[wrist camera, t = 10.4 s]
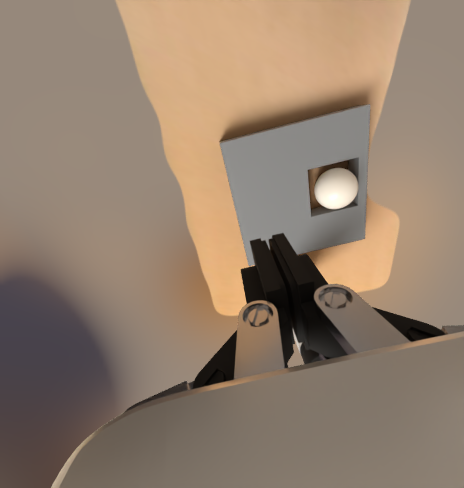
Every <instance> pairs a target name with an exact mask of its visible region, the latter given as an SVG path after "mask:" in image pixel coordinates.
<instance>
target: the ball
mask: <svg viewBox="0 0 464 488" xmlns="http://www.w3.org/2000/svg"><path fill="white" fill-rule="evenodd" d="M357 192H358V181H357V179H356V177H355V175H354V174H353V173H352V172H350V171H349V170H347V169H344V168H333V169H329V170H327V171H325V172H324V173H323V174H322V175H321V176H320V177H319V178H318V179H317V181H316V184H315V188H314V193H315V197H316V199H317V201H318V202H319V203H320V204H321V205H322V206H324V207H326V208H329V209H340V208H343V207H345V206H347V205H348V204H350V203H351V202H352V201H353V200H354V198H355V197H356V195H357Z"/></svg>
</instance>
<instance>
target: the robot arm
mask: <svg viewBox="0 0 464 488" xmlns="http://www.w3.org/2000/svg"><path fill="white" fill-rule="evenodd" d="M250 245H251V250H252V254H253V259H254V263H255V266H252V267H248V268H244V269H241V274H242V280H243V285H244V291H245V296H246V302H247V304H246V305H245V306H244V307H243V308H242V309H241V310H240V312H239V316H238V328H237V331H236V332H235V333H234V334H233V335H232V336H231V337H230V338H229V340H228V341H227V342H226V343H225V344H224V345H223V346H222V348H220V350H219V351H218V352H217V353H216V354H215V355H214V356H213V358H212V359H211V360H210V361H209V362H208V363H207V364H206V365H205V367H204V368H203V369H202V370H201V371H200V372H199V374H198V375H197V377H196V378H195V381H192V382H190V383H187V381H184V382H182V383H180V384H178V385H176V386H173V387H171V388H169V389H167V390H165V391H162V392H160V393H158V394H156V395H154V396H151V397H149V398H147V399H145V400H142V401H140V402H138V403H136V404H134V405H133V406H131V407H129V408H128V409H127V410H126V411H125V412H124V413H122V414H121V415H119V416H117V417H116V418H114V419H113V420H111V421H109V422H108V423H106V424H105V425H103V426H102V427H100V428H99V429H98V430H96V431H95V432H94V433H93V434H91V435H90V436H89V437H88V438H87V439H85V440H84V442H82V443H81V444H80V446H79V447H78V448H77V449H76V450H75V451H74V453H73V454H72V455H71V456H70V458H69V459H68V460H67V462H66V463H65V465H64V466H63V468H62V470H61V471H60V473H59V474H58V476H57V478H56V480H55V481H54V483H53V485H52V487H51V488H464V325H463V326H462V325H458V326H442V329H441V330H440V329H438V328H436V327H434V326H432V325H429V324H427V323H424V322H420V321H417V320H413V319H410V318H406V317H403V316H400V315H397V314H393V313H390V312H387V311H383V310H380V309H377V308H373V307H371V306H370V305H369V304H368V303H367V302H365V301H364V300H363V299H362V298H361V297H360V296H359V295H357V293H355V292H354V291H353V290H352V289H350V288H349V287H346V286H344V285H339V284H328V283H327V282H326V280H325V279H324V278H323V276H322V275H321V273H320V272H319V270H318V269H317V268H316V266H315V265H314V263H313V262H312V260H311V259H310V258H309V256H308V255H307V254H304V255H299V256H298V255H297V254H296V252H295V251H294V249H293V247H292V246H291V244H290V243H289V241H288V239H287V238H286V236H285V235H284V233H280V234H276V235H272V238H271V239H269V246H270V249H269V247H268V245H267V243H266V240H263V241H261V238H259V239H255V240H251V241H250ZM293 330H294V333H295V335H296V338H297V341H298V343H302V342H303V343H304V346H305V348H306V350H310V349H311V350H313V351H315V352H318V353H319V357H320V359H321V361H318V362H313V363H309V364H304V365H300V366H295V367H290V368H288V365H287V362H288V361H289V359H290V358H291V356H292V354H293V353H294V350H293V344H295V341H294V334H293Z"/></svg>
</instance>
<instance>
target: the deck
mask: <svg viewBox="0 0 464 488" xmlns="http://www.w3.org/2000/svg"><path fill="white" fill-rule="evenodd" d="M369 124H370V104H368V105H359V106H355V107H351V108H347V109H343V110H339V111H335V112H331V113H328V114H324V115H320V116H316V117H312V118H308V119H304V120H301V121H297V122H293V123H289V124H285V125H281V126H278V127H274V128H270V129H266V130H262V131H258V132H254V133H251V134H247V135H243V136H239V137H235V138H231V139H227V140H224V141H220V146H221V151H222V155H223V159H224V163H225V167H226V172H227V176H228V180H229V184H230V189H231V193H232V197H233V201H234V205H235V210H236V214H237V218H238V222H239V226H240V231H241V235H242V239H243V243H244V248H245V252H246V256H247V260H248V264H249V266H251V265H255V263H254V259H253V254H252V250H251V245H250V241H251V240H255V239H259V238H261V241H263V240H266V243H267V245H268V247H269V249H270V246H269V239H271V238H272V235H276V234H280V233H284V235H285V236H286V238H287V239H288V241H289V243H290V244H291V246H292V247H293V249H294V251H295V252H296V254H297V255H298V254H302V253H307V252H311V251H315V250H319V249H324V248H328V247H332V246H337V245H341V244H345V243H349V242H354V241H358V240H362V239H365V223H366V199H367V174H368V149H369ZM345 160H348V170H349V171H350V172H352V173H353V174H354V175H355V177H356V179H357V181H358V192H357V195H356V197H355V198H354V200H353V201H352V202H351V203H350V204H348V205H347V206H345V207H343V208H340V209H329V208H326V207H324V206H322V207H318V208H314V209H311V208H310V195H309V183H308V170H309V169H313V168H317V167H321V166H325V165H329V164H333V163H337V162H341V161H345Z"/></svg>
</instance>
